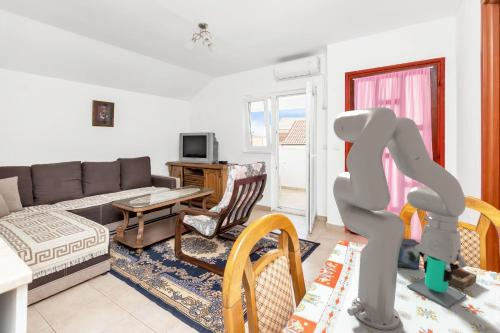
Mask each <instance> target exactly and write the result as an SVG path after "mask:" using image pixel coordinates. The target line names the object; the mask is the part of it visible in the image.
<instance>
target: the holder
mask: <svg viewBox="0 0 500 333" xmlns="http://www.w3.org/2000/svg"><path fill="white" fill-rule="evenodd" d="M477 276H478V275H477V274H475V273H473V272H470V271H468V270H464V269H463V268H458V269H455V270H453V272H452V279H451V280H449V281H448V285H449V286H451V287H453V288H455V289H458V290H459V291H460V290H461V291H462V292H463V291H465V290H466V289H469V287H471V286H473V285H474V284H476V282H477ZM459 278H460V279H459Z"/></svg>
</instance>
